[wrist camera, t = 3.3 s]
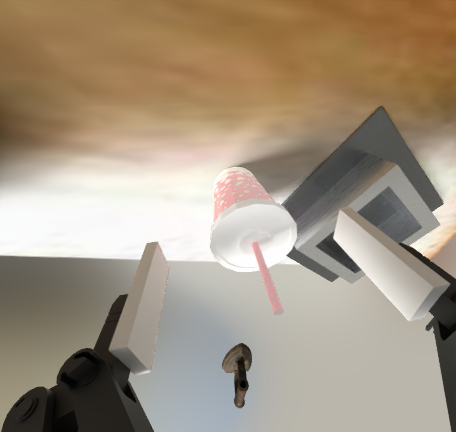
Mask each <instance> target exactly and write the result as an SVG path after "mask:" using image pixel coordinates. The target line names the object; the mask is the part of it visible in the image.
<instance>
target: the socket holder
mask: <svg viewBox="0 0 456 432" xmlns="http://www.w3.org/2000/svg"><path fill="white" fill-rule="evenodd" d="M443 204H444V203H443V202H442V200H441V199H440V197H439V196H438V194H437V192H436V191H435V189H434V188H433V186H432V185H431V183H430V181H429V180H428V178H427V177H426V175H425V174H424V172H423V171H422V169H421V167H420V166H419V164H418V163H417V161H416V160H415V158H414V156H413V155H412V153H411V152H410V150H409V149H408V147H407V145H406V144H405V142H404V141H403V139H402V138H401V136H400V135H399V133H398V131H397V130H396V128H395V127H394V125H393V124H392V122H391V120H390V119H389V117H388V116H387V114H386V113H385V111H384V109H383V108H382V107H378V108H377V109H376V110H375V111H374V112H373V113H372V114H371V115H370V116H369V117H368V118H367V119H366V120H365V121H364V122H363V123H362V124H361V125H360V126H359V127H358V128H357V129H356V130H355V131H354V132H353V133H352V134H351V135H350V136H349V137H348V138H347V139H346V140H345V141H344V142H343V143H342V144H341V145H340V146H339V147H338V148H337V149H336V150H335V151H334V152H333V153H332V154H331V155H330V156H329V157H328V158H327V159H326V160H325V161H324V162H323V163H322V164H321V165H320V166H319V167H318V168H317V169H316V170H315V171H314V172H313V173H312V174H311V175H310V176H309V177H308V178H307V179H306V180H305V181H304V182H303V183H302V184H301V185H300V186H299V187H298V188H297V189H296V190H295V191H294V192H293V193H292V194H291V195H290V196H289V197H288V198H287V199H286V200H285V201H284V202H283V203H282V204H281V205H282V206H284V208H285V209H286V210H287V211H288V212H289V214H290V215H291V217H292V218H293V220H294V221H295V223H296V226H297V239H296V241H295V243H294V245H293V248H292V250H291V251H290V252H289V253H288V254H287V255H286V256H288V257H289V258H291V259H293V260H294V261H296V262H298V263H300V264H301V265H303V266H305V267H306V268H308V269H310V270H312V271H313V272H316V273H317V274H319V275H320V276H322V277H324V278H326V279H327V280H329V281H331V282H333V281H334V280H335V279H337V278H338V277H341V278H343V279H345V280H346V281H348V282H350V283H353V282H355V281H356V280H358V279H360V278H361V277H363V276H364V275H366V274H365V273H364V272H363V271H362V269H361V268H360V267H359V266H358V265H357V264H356V263H355V262H354V261H353V260H352V259H351V257H350V256H349V255H348V254H347V253H346V252H345V251H344V250H343V249H342V248H341V246H340V245H339V244H338V243H337V242H336V241H335V240H334V239H333V237H334V232H335V228H336V223H337V219H338V214H339V210H340V209H343V208H349V207H350V208H352V209H353V210H354V211H356V212H357V213H358V214H359V215H361V216H362V217H363V218H365V219H366V220H367V221H369V222H370V223H371V224H373V225H374V226H375V227H377V228H378V229H379V230H380V231H382V232H383V233H384V234H386V235H387V236H388V237H390V238H391V239H392V240H394V241H395V242H396V243H403V244H406V245H408V246H409V245H411V244H412V243H414V242H415V241H417V240H418V239H420V238H421V237H423V236H424V235H426V234H427V233H429V232H430V231H432V230H433V229H435V228H436V227H438V226H439V225H440V223H439V222H438V220H437V219H436V218H435V216H434V215H433V213H432V212H433V211H434V210H436V209H437V208H438V207H440V206H441V205H443Z"/></svg>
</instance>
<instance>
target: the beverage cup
mask: <svg viewBox="0 0 456 432" xmlns="http://www.w3.org/2000/svg"><path fill="white" fill-rule="evenodd" d="M296 239H297V226H296V223H295V221H294V220H293V218H292V217H291V215H290V214H289V212H288V211H287V210H286V209H285V208H284V206H282V205H280V204H278V203H276V202H275V201H274V200H273V199H272V197H271V196H270V195H269V194H268V192H267V191H266V190H265V189H264V188H263V186H262V185H261V184H260V183H259V181H258V180H257V179H256V178H255V177H254V175H253V174H252V173H251V172H250V171H249V170H247V169H245V168H243V167H231V168H227V169H225V170H224V171H223V172H221V173H220V174H219V175H218V177H217V179H216V180H215V185H214V224H213V225H212V228H211V236H210V248H211V251H212V253H213V255H214V258H215V259H216V260H217V261H218V262H219V263H220V264H222V265H223V266H224V267H226V268H229V269H232V270H235V271H239V272H254V271H258V270H260V272H261V275H262V278H263V281H264V284H265V288H266V291H267V293H268V297H269V300H270V303H271V306H272V309H273V312H274V314H275V315H280V314H282V313H283V308H282V306H281V303H280V300H279V297H278V295H277V292H276V289H275V287H274V284H273V281H272V279H271V276H270V274H269V271H268V268H269V267H270V266H272V265H274V264H276V263H278V262H279V261H281V260H282V259H283V258H284V257H285V256H286V255H287V254H288V253H289V252H290V251H291V250H292V248H293V245H294V243H295V241H296Z"/></svg>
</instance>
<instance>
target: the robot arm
mask: <svg viewBox="0 0 456 432" xmlns="http://www.w3.org/2000/svg"><path fill="white" fill-rule="evenodd" d="M333 239H334V240H335V241H336V242H337V243H338V244H339V245H340V246H341V248H342V249H343V250H344V251H345V252H346V253H347V254H348V255H349V256H350V257H351V259H352V260H353V261H354V262H355V263H356V264H357V265H358V266H359V267H360V268H361V269H362V271H363V272H364V273H365V274H366V275H367V276H368V277H369V278H370V279H371V280H372V281H373V282H374V283H375V285H376V286H377V287H378V288H379V289H380V290H381V291H382V292H383V294H384V295H385V296H386V297H387V298H388V299H389V300H390V301H391V302H392V303H393V304H394V306H395V307H396V308H397V309H398V310H399V311H400V312H401V313H402V314H403V315H404V317H405V318H407V320H408V321H412V320H417V319H423V318H424V317H425V316H426V314H427V313H428V312H430V313H431V314H432V315H433V316H434V318H433V319H432V320H431V321H430V323H429V324H428V325H427V326H426V330H427V331H429V330H430V329H431V328H432V326H433V328H434V332H433V333H434V334H435V340H436V346H437V351H438V357H439V362H440V368H441V373H442V380H443V385H444V391H445V397H446V403H447V408H448V414H449V420H450V425H451V431H452V432H456V279H455V278H454V277H452V276H451V275H449V274H448V273H447V272H445V271H444V270H443V269H441V268H440V267H438V266H437V265H436V264H434V263H433V262H430V260H429V259H428V258H426V257H425V256H422V254H421V253H419V252H418V251H417V250H415V249H414V248H412V247H410V246H408V245H406V244H403V243H396V242H395V241H394V240H392V239H391V238H390V237H388V236H387V235H386V234H384V233H383V232H382V231H380V230H379V229H378V228H377V227H375V226H374V225H373V224H371V223H370V222H369V221H367V220H366V219H365V218H363V217H362V216H361V215H359V214H358V213H357V212H356V211H354V210H353V209H352V208H350V207H349V208H343V209H340V210H339V214H338V219H337V223H336V228H335V232H334V237H333ZM168 273H169V266H168V264H167V262H166V259H165V257H164V255H163V252H162V250H161V248H160V246H159V243H158V242H152V243H147V244H146V247H145V250H144V253H143V255H142V258H141V261H140V264H139V267H138V269H137V272H136V275H135V277H134V281H133V283H132V286H131V289H130V291H129V294H125V295H120V296H119V297H118V298H117V299H116V301H115V302H114V303H113V305H112V307H111V309H110V312H109V315H108V316H107V319H106V321H105V324H104V326H103V328H102V331H101V333H100V335H99V338H98V340H97V342H96V345H95V347H94V350H93V349H90V348H85V349H81V350H79V351H78V352H76V353H75V354H73V355H72V356H71V357H70V358H69V359H67V361H66V362H65V363H64V365H63V366H62V367H61V369H60V371H59V373H58V376H57V384H58V385H56V386H54V387H52V388H50V389H47V388H45V387H36V388H34V389H32V390H30V391H28V392H27V393H26V394H24V395H23V396H22V397H21V398H20V399H19V400H18V401H17V402H16V403H15V404H14V405H13V407H12V408H11V410H10V411H9V413H8V414H7V417H6V419H5V421H4V424H3V427H2V431H1V432H154V430H153V429H152V426H151V424H150V422H149V420H148V419H147V416H146V414H145V412H144V410H143V408H142V406H141V404H140V402H139V400H138V398H137V396H136V394H135V392H134V390H133V388H132V386H131V384H130V382H129V381H128V378H129V374H130V371H131V372H132V373H133V374H134V375H139V374H144V373H149V372H151V368H152V362H153V357H154V351H155V345H156V340H157V334H158V329H159V324H160V318H161V312H162V306H163V301H164V295H165V290H166V285H167V279H168Z"/></svg>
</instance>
